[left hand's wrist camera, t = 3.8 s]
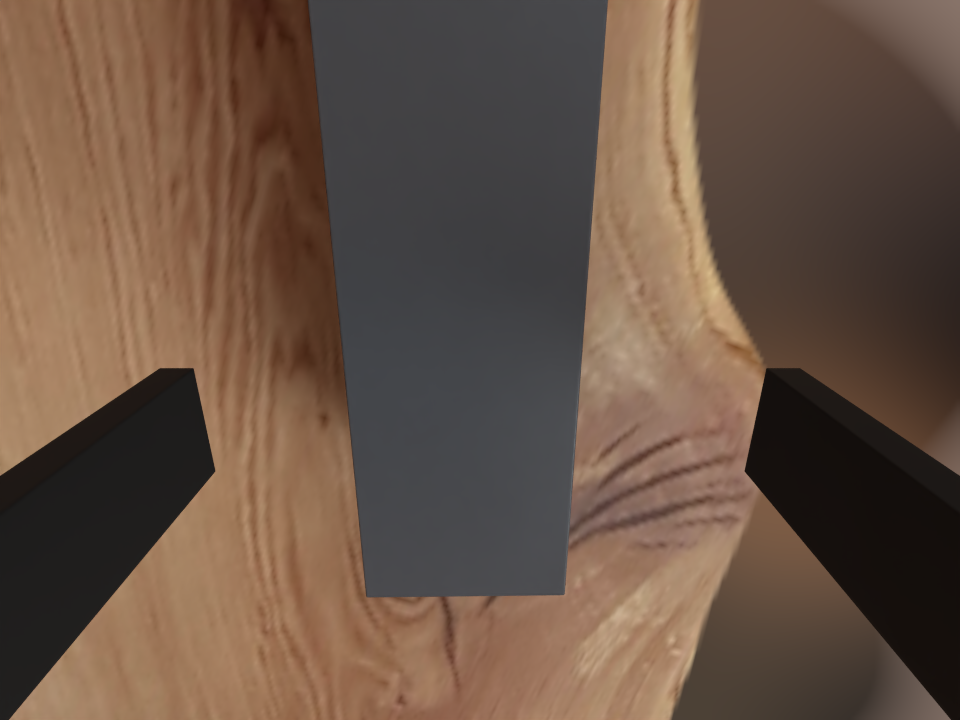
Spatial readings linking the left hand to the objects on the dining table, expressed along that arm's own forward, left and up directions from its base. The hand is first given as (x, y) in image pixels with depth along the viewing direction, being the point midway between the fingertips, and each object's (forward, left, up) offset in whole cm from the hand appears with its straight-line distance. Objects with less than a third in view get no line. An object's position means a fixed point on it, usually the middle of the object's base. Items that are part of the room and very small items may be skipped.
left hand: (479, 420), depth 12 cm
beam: (+2, +21, -10) cm, 24 cm away
